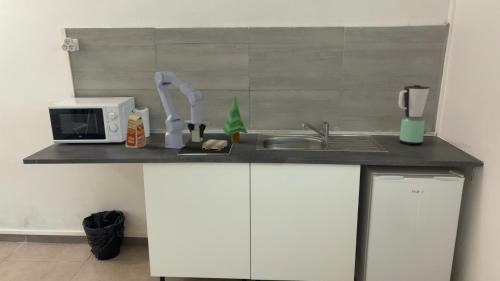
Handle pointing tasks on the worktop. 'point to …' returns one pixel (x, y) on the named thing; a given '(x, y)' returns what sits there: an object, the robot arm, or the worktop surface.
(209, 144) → the beige irregular slab
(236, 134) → the decorative tree
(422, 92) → the mint green blender
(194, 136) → the green block
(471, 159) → the worktop surface
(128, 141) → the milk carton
